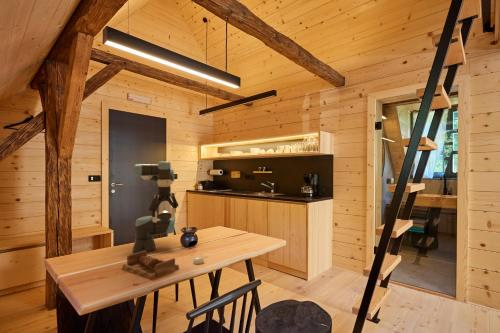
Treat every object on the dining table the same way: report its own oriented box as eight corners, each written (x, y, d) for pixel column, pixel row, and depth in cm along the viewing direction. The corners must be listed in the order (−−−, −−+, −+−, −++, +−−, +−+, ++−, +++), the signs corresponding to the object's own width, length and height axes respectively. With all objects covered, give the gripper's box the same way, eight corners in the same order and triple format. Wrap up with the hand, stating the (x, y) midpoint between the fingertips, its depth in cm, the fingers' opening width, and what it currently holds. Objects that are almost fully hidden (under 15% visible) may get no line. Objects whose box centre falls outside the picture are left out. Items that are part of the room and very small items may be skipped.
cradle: (122, 269, 152) (122, 257, 152) (149, 260, 167) (149, 248, 167) (152, 280, 137) (152, 267, 137) (179, 269, 153) (179, 257, 152)
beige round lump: (190, 263, 163) (190, 258, 162) (198, 260, 168) (198, 255, 168) (198, 265, 159) (198, 260, 159) (205, 262, 164) (205, 257, 164)
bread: (151, 272, 145) (146, 264, 143) (138, 264, 159) (134, 256, 158) (161, 264, 149) (157, 256, 147) (148, 257, 163) (144, 249, 161)
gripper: (150, 188, 154) (150, 224, 154) (183, 185, 174) (183, 217, 175) (142, 187, 158) (142, 222, 159) (176, 184, 178) (176, 215, 179)
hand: (164, 220), depth 167 cm, fingers open, 13 cm apart
